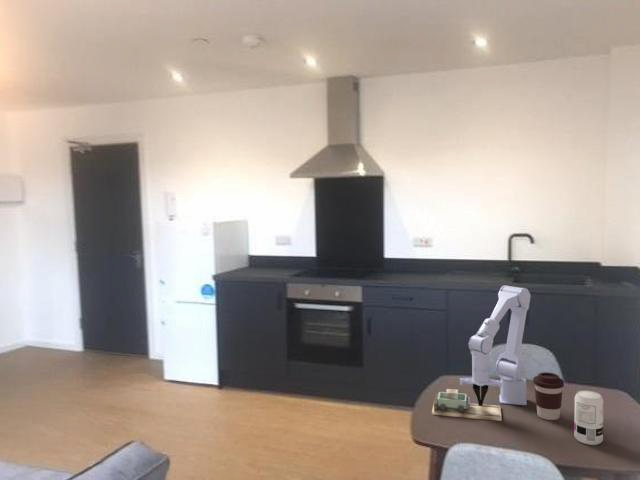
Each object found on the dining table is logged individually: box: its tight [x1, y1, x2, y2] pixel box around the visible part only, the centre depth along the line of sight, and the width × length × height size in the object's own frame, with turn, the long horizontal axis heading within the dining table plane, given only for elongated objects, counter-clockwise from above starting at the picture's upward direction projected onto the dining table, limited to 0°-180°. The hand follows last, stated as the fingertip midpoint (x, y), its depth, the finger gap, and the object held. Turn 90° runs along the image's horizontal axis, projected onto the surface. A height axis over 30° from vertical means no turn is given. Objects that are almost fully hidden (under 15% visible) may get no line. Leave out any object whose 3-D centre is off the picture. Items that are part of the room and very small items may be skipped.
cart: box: [438, 391, 471, 412], centre depth 193 cm, size 11×9×4 cm
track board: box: [431, 392, 502, 422], centre depth 192 cm, size 24×11×4 cm, turn 73°
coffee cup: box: [532, 372, 565, 421], centre depth 185 cm, size 10×10×15 cm
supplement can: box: [573, 389, 604, 446], centre depth 167 cm, size 8×8×15 cm
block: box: [446, 388, 459, 400], centre depth 193 cm, size 4×4×4 cm
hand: (480, 404), depth 190 cm, fingers closed
